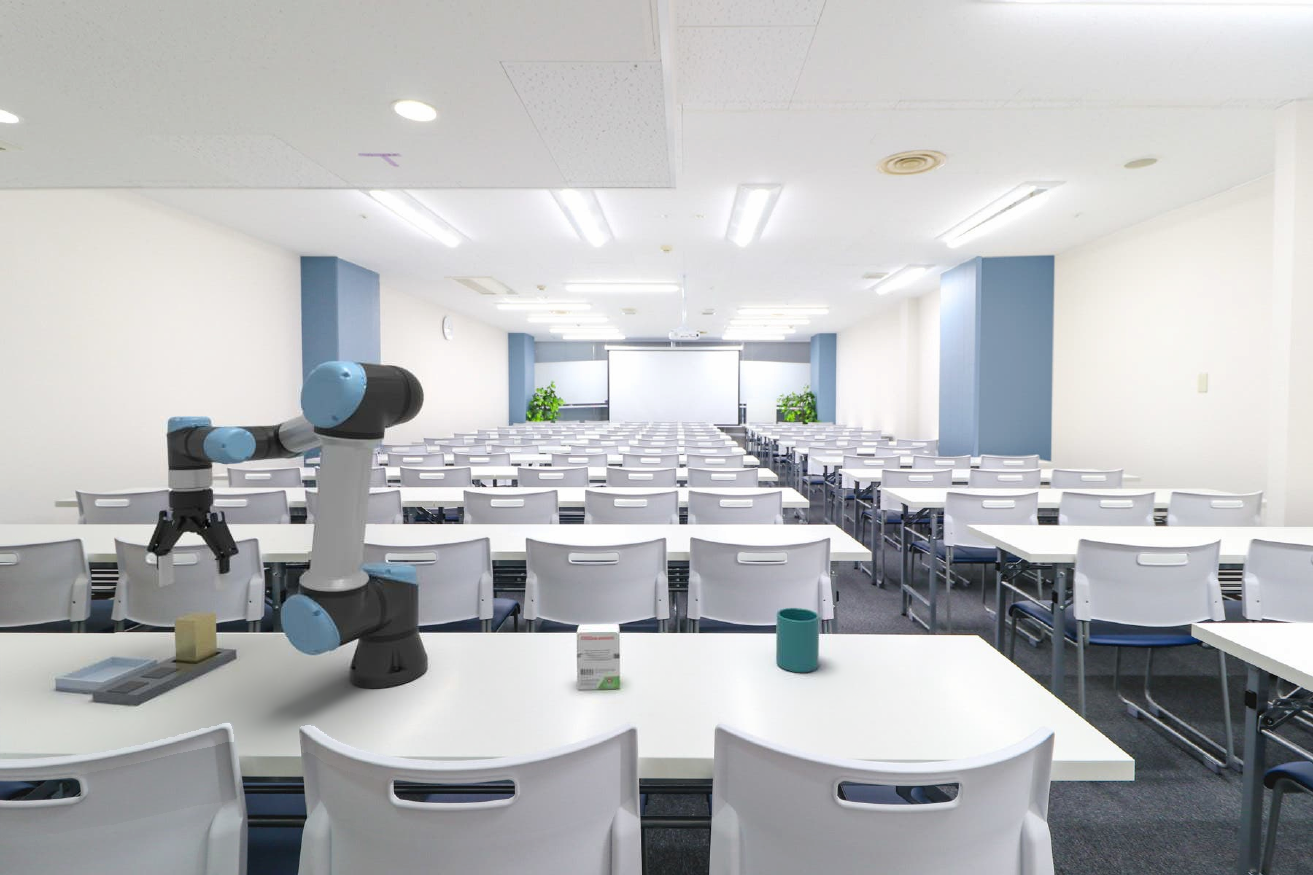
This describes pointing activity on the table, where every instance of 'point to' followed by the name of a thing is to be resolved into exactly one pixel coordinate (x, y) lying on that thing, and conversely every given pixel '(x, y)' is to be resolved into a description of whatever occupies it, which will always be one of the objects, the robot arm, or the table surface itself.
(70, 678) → the tray
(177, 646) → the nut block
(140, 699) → the grey slotted plate
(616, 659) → the ink box
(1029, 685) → the table surface
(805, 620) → the cup
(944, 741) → the table surface
